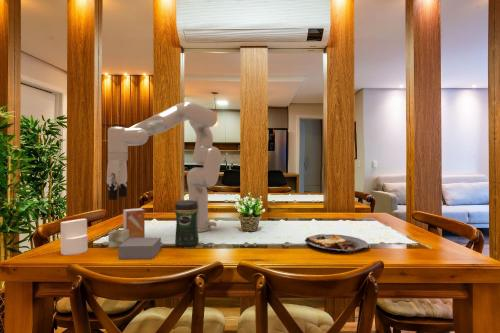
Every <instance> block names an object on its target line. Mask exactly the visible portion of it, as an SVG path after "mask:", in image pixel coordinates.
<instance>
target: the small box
mask: <svg viewBox="0 0 500 333" xmlns="http://www.w3.org/2000/svg"><path fill="white" fill-rule="evenodd" d="M122 212H123V213H122V214H123V216H122V217H123V220H122V221H123V227H122V230H129V238H146V237H145V233H146V232H145V229H146V228H145V220H146V219H145V216H146V215H145V209H143V208H141V207H139V208H129V209H128V208H126V209H123V211H122Z"/></svg>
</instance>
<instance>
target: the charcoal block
mask: <svg viewBox="0 0 500 333" xmlns="http://www.w3.org/2000/svg"><path fill="white" fill-rule="evenodd" d="M161 249H162V238H161V237H145V238H129V239H128V240H127V241H125V242H124V243H122V244H121V245H120V246H119V247H118V260H154V258H155V257H156V255H157V254H158V253H159V252H160V251H161Z"/></svg>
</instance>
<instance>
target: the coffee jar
mask: <svg viewBox="0 0 500 333" xmlns="http://www.w3.org/2000/svg"><path fill="white" fill-rule="evenodd" d="M197 212H198V205H197V201H194V200H189V199H188V200H185V199H184V200H183V199H182V200H177V201H176V202H175V205H174V213H175V217H176V220H175V222H176V224H175V238H174V244H175V245H176V246H178V247H179V246H180V247H190V246H195V245H198V243H199V241H200V239H199V232H198V229H197Z"/></svg>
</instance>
